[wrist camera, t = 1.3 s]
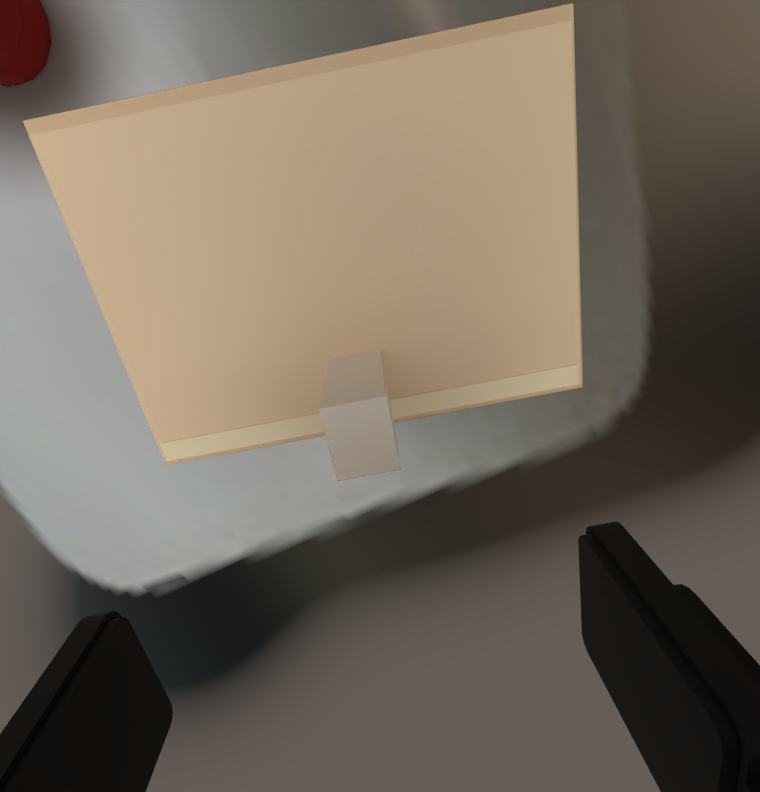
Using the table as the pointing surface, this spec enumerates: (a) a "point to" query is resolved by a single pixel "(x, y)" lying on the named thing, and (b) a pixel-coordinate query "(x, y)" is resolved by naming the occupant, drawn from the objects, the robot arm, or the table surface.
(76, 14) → the table surface
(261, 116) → the flap
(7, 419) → the table surface
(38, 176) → the table surface
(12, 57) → the plastic cup
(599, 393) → the table surface
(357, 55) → the carton
